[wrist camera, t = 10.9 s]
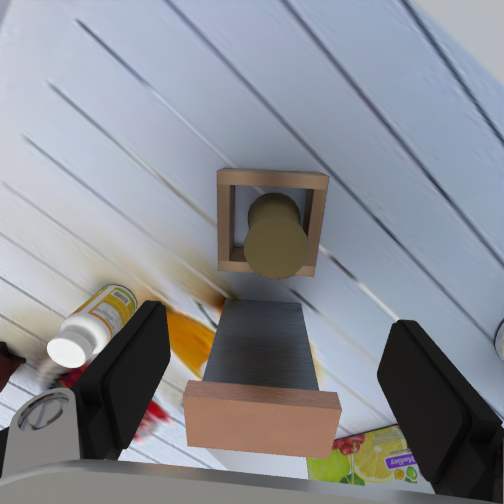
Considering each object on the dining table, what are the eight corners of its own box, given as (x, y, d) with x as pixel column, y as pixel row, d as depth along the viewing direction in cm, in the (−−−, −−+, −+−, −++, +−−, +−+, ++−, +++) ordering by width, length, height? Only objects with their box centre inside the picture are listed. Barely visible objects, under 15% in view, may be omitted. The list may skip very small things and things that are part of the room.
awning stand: (304, 277, 31) (342, 410, 15) (299, 311, 33) (328, 459, 17) (225, 272, 32) (182, 396, 16) (225, 306, 34) (187, 446, 18)
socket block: (320, 172, 26) (329, 176, 23) (308, 261, 30) (313, 276, 27) (224, 168, 27) (216, 170, 23) (224, 256, 31) (218, 270, 27)
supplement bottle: (103, 315, 35) (47, 370, 26) (96, 282, 33) (33, 330, 24) (139, 318, 35) (96, 375, 26) (135, 285, 33) (86, 335, 24)
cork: (244, 194, 28) (231, 220, 18) (299, 189, 27) (317, 213, 17) (250, 245, 30) (241, 293, 20) (300, 241, 29) (317, 289, 19)
